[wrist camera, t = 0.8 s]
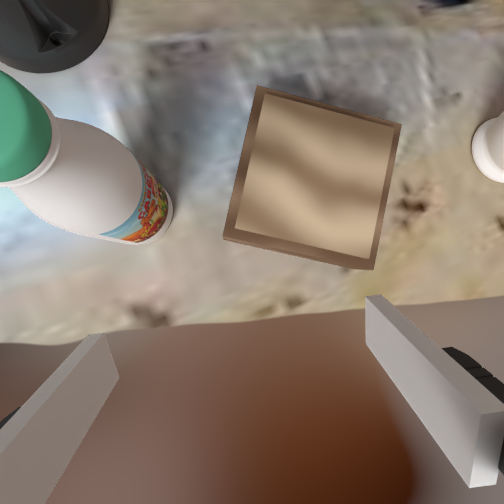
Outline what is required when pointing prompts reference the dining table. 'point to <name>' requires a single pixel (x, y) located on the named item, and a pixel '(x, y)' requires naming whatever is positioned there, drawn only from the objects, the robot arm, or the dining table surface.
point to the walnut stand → (312, 180)
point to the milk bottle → (76, 173)
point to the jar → (490, 148)
